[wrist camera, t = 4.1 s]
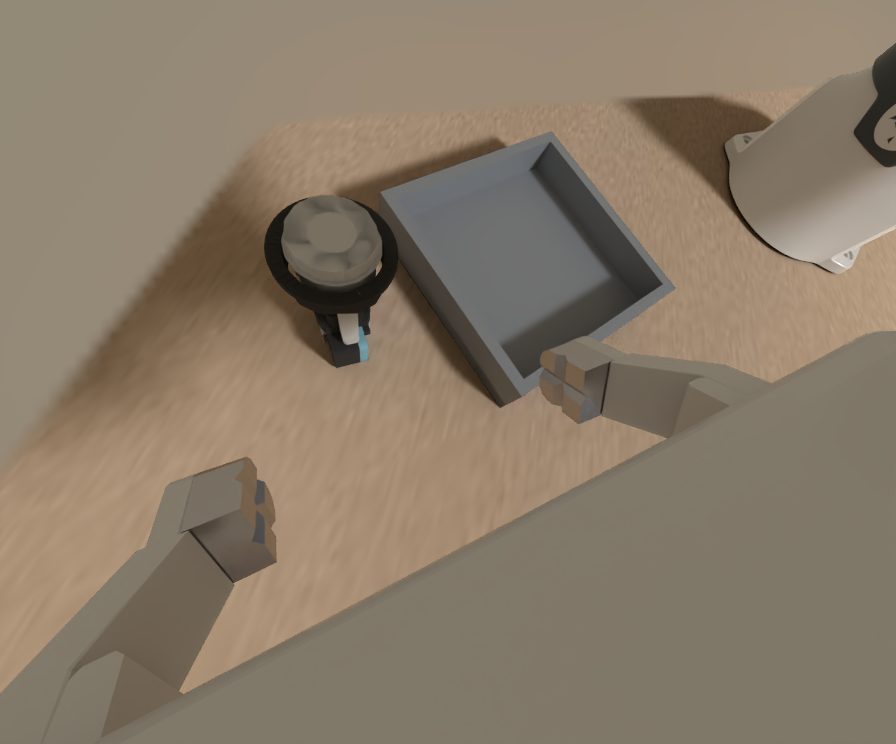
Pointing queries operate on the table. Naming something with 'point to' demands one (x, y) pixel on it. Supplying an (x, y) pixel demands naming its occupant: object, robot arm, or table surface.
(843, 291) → the table surface
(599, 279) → the dock tray
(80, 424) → the table surface
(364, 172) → the table surface
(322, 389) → the table surface
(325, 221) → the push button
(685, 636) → the robot arm
